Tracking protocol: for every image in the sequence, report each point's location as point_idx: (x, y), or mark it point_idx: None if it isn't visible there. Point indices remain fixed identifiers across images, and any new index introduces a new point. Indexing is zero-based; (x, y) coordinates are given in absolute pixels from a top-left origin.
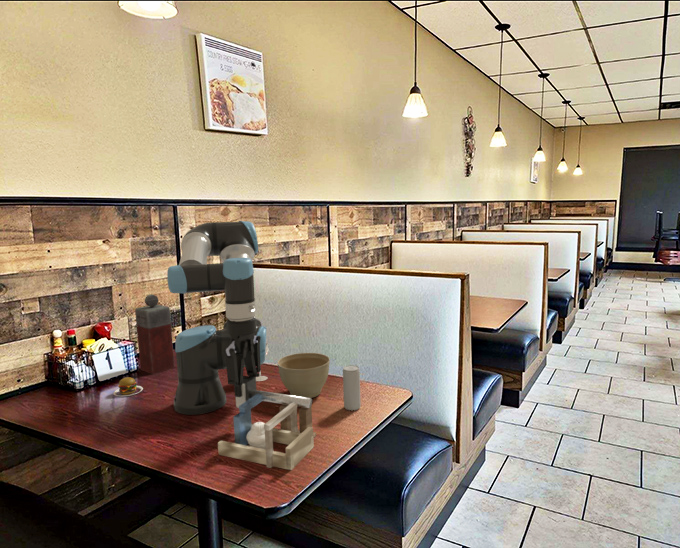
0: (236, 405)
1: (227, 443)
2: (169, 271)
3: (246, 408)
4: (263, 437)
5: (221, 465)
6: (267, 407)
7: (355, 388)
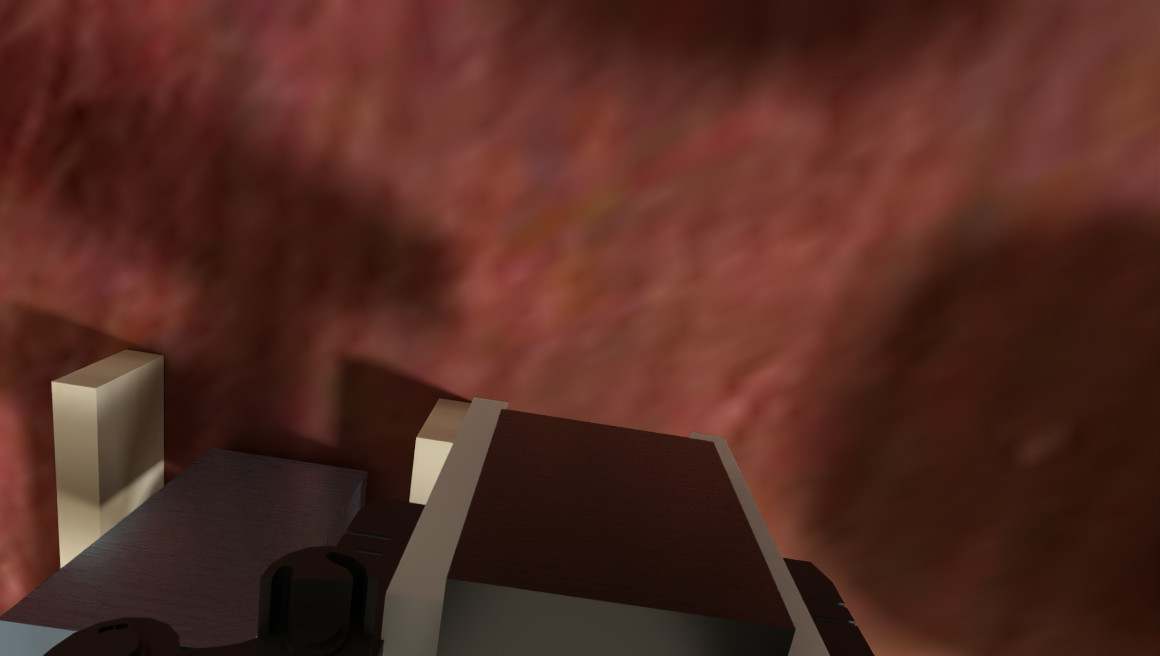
0: (469, 411)
1: (73, 464)
2: None
3: None
4: None
5: (13, 436)
6: (1003, 376)
7: None
